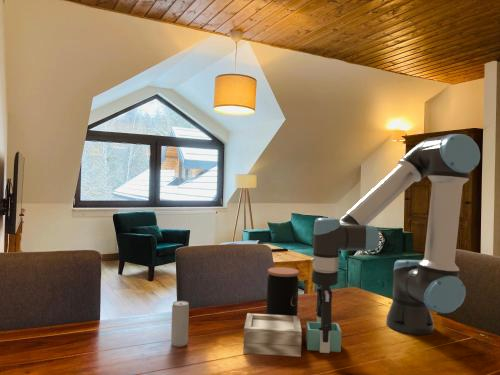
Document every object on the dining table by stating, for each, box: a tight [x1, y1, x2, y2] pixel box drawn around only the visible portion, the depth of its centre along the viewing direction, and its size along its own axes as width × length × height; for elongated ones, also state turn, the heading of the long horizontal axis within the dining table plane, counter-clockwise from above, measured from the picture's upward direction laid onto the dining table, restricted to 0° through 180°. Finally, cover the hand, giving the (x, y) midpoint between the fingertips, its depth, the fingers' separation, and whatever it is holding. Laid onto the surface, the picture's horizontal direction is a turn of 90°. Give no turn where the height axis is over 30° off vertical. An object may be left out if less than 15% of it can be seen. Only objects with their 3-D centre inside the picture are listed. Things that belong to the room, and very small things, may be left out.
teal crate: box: [305, 321, 342, 353], centre depth 121 cm, size 10×7×6 cm
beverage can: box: [170, 300, 190, 348], centre depth 119 cm, size 5×5×12 cm
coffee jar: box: [265, 266, 300, 316], centre depth 140 cm, size 11×11×18 cm
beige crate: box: [242, 312, 303, 358], centre depth 120 cm, size 16×13×7 cm
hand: (322, 345), depth 121 cm, fingers open, 10 cm apart
